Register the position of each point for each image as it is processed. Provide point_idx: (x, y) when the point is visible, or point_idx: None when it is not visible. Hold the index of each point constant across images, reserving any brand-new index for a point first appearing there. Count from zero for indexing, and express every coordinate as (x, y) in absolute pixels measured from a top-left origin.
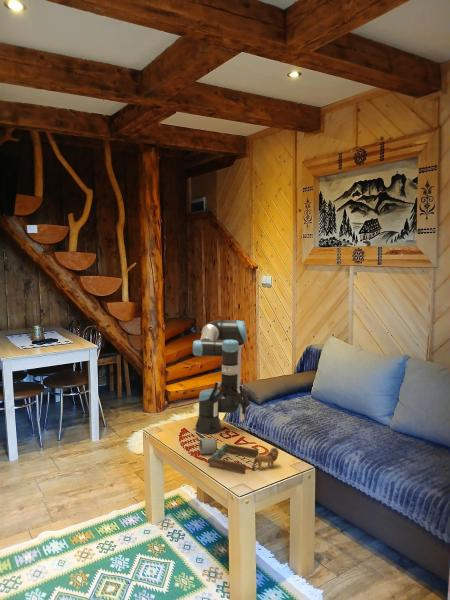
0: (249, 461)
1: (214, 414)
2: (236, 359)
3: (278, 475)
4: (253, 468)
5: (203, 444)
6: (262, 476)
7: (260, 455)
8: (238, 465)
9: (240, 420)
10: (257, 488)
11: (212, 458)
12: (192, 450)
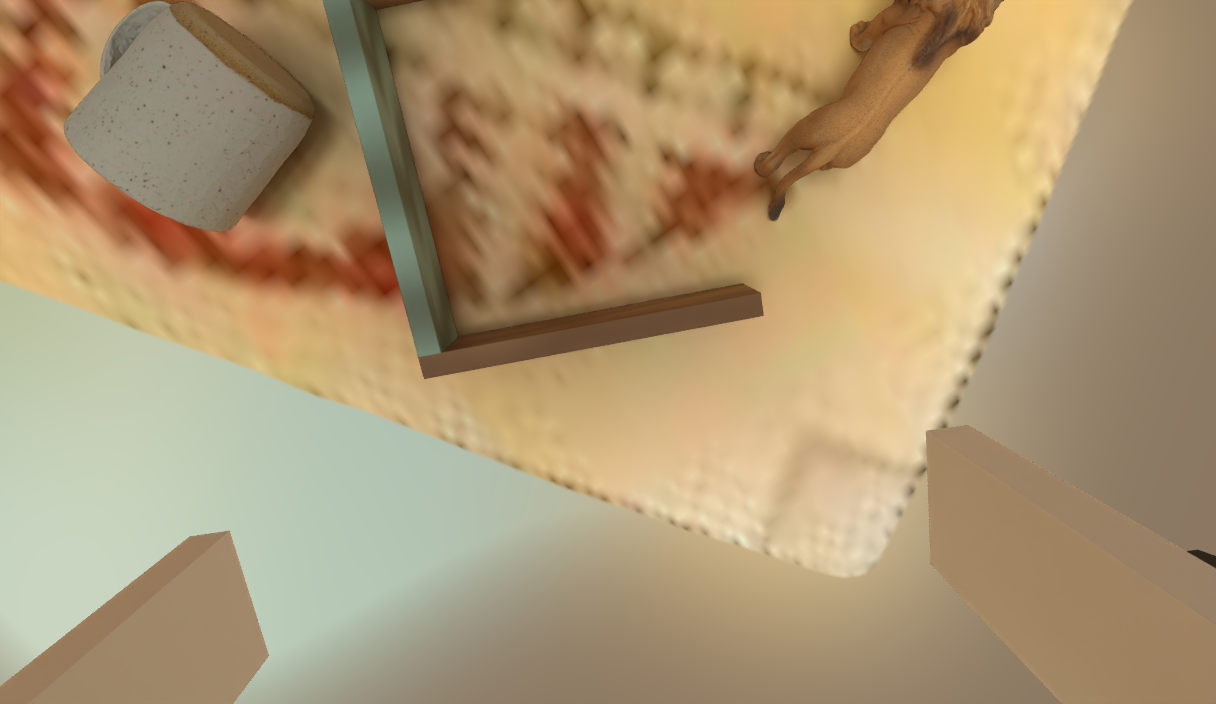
0: (664, 57)
1: (218, 701)
2: None
3: (996, 161)
4: (783, 203)
5: (192, 213)
6: (887, 256)
7: (867, 128)
8: (704, 324)
9: (952, 576)
10: None
11: (447, 361)
12: None
